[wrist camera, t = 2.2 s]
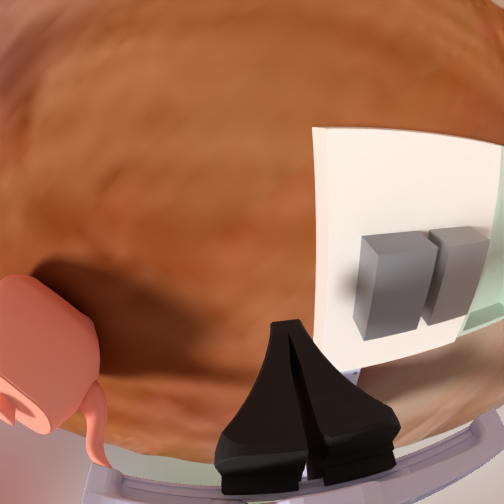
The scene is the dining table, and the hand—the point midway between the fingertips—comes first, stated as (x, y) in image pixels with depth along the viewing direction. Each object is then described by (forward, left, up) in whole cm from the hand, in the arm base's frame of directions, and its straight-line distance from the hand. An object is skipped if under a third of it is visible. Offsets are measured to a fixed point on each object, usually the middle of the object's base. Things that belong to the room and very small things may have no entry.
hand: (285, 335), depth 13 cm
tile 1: (0, -12, -4) cm, 13 cm away
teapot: (-5, +21, -7) cm, 23 cm away
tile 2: (0, -7, -4) cm, 8 cm away
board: (0, -10, -7) cm, 12 cm away
